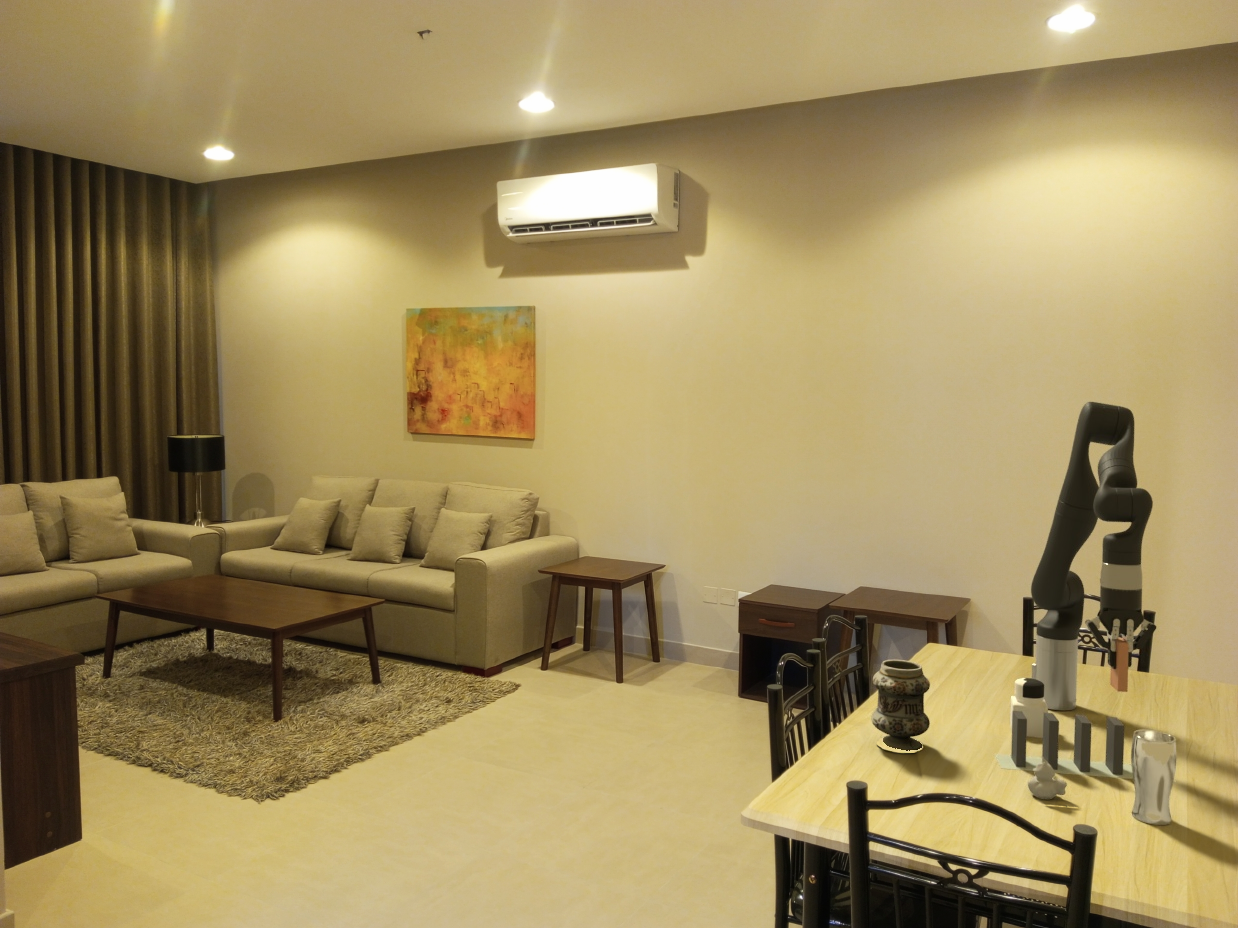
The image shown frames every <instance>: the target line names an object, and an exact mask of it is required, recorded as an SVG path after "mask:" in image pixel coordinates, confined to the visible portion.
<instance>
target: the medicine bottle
mask: <svg viewBox="0 0 1238 928" xmlns="http://www.w3.org/2000/svg"><path fill="white" fill-rule="evenodd" d="M1013 711H1022V712H1023V714H1024V715H1025V717H1026V718H1027V737H1031V738H1038V739H1043V715H1044V713H1049V709H1048V707H1047V705H1046V702H1045V699H1044V684H1043V683H1042V682H1041V681H1039V680H1036V679H1032V677H1030V678H1029V677H1021V678H1018V679H1016V680H1015V681H1014V695H1011V697H1010V714H1009V715H1010V718H1009V719H1010V721H1009V725H1010V730H1011V732H1012V712H1013Z"/></svg>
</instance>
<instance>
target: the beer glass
mask: <svg viewBox="0 0 1238 928" xmlns="http://www.w3.org/2000/svg"><path fill="white" fill-rule="evenodd" d="M1176 738H1177V737H1175V736H1174V735H1172V734H1169V733H1168V732H1163V731H1161V730H1155V729H1143V728H1142V729H1137V730H1134V731H1133V735H1132V743H1131V754H1130V761H1131V762H1130V764H1131V765H1132V773H1133V779H1132V780H1133V784H1134V785H1133V786H1134V802H1133V807H1132V810H1131V814H1132V817H1133V818H1135V819H1136V820H1137V821H1139V822H1142V823H1145V824H1148V825H1153V826H1166V825H1170V824H1171V822H1172V815H1171V810H1170V798H1171V793H1172V789H1173V784H1174V782H1173V781H1174V780H1175V777H1176V772H1177V771H1176V770H1177V742H1176V741H1177V740H1176Z"/></svg>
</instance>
